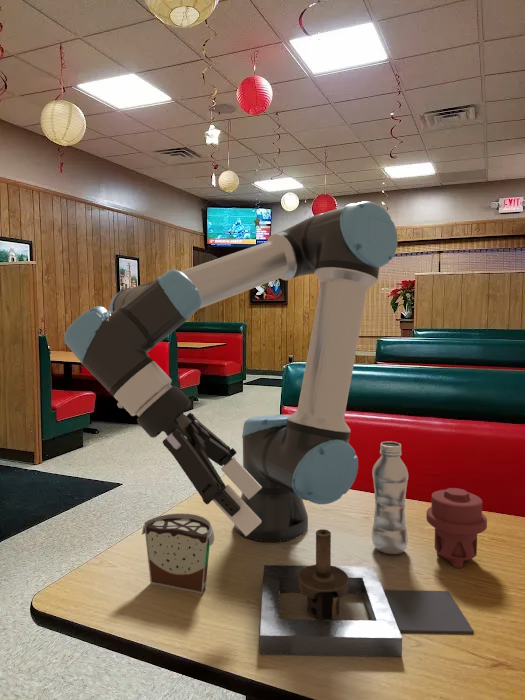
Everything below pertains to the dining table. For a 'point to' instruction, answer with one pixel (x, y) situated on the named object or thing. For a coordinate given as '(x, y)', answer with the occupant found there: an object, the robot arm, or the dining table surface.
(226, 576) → the dining table surface
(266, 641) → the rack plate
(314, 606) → the industrial component
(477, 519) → the mechanical component
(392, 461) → the plastic bottle
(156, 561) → the food container
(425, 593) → the rubber mat
